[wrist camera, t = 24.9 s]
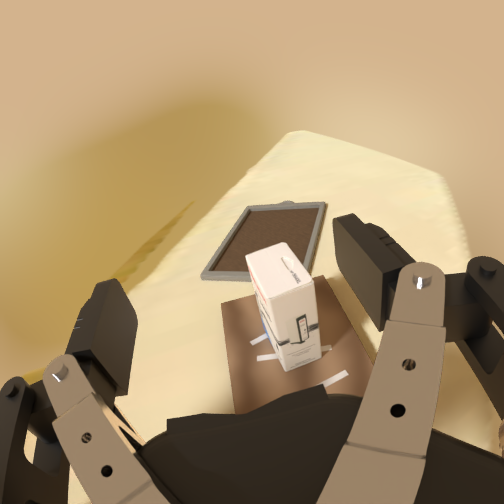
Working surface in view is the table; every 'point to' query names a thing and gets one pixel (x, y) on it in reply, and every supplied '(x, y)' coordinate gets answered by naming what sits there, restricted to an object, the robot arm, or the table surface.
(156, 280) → the table surface
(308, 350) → the ink box
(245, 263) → the grey framed brown panel
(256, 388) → the walnut board
